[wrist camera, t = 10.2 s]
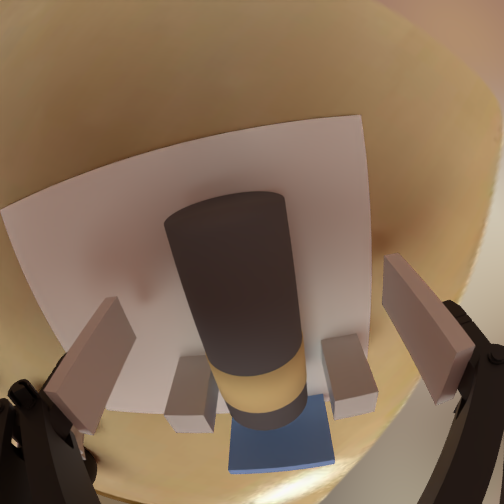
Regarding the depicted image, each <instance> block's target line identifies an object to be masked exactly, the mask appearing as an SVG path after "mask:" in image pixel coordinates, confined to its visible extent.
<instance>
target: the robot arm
mask: <svg viewBox="0 0 504 504" xmlns="http://www.w3.org/2000/svg"><path fill="white" fill-rule="evenodd" d="M382 305H383V307H384V308H385V310H386V312H387V314H388V315H389V317H390V319H391V320H392V322H393V324H394V326H395V328H396V329H397V331H398V333H399V335H400V337H401V338H402V340H403V342H404V344H405V346H406V348H407V349H408V351H409V353H410V355H411V357H412V359H413V361H414V363H415V365H416V367H417V368H418V370H419V372H420V374H421V376H422V378H423V380H424V382H425V384H426V386H427V388H428V390H429V393H430V395H431V397H432V399H433V401H434V403H435V405H439V404H441V403H444V402H446V401H449V400H451V399H453V397H454V395H455V393H456V391H457V389H458V390H459V392H460V394H461V396H462V397H461V399H460V401H459V403H458V405H457V407H456V408H455V410H454V413H455V417H454V420H453V423H452V426H451V428H450V431H449V434H448V437H447V440H446V442H445V445H444V447H443V450H442V453H441V455H440V457H439V459H438V462H437V464H436V466H435V469H434V471H433V473H432V475H431V477H430V480H429V482H428V484H427V486H426V488H425V490H424V492H423V493H422V496H421V497H420V499H419V501H418V503H417V504H482V501H483V499H484V496H485V494H486V491H487V488H488V485H489V482H490V479H491V476H492V473H493V470H494V467H495V463H496V460H497V456H498V452H499V448H500V444H501V440H502V435H503V431H504V346H502V345H499V344H491V343H490V342H489V341H488V339H487V338H486V337H485V336H484V334H483V333H482V332H481V330H480V329H479V328H478V327H477V326H476V324H475V323H474V322H472V319H471V318H470V317H469V316H468V315H467V314H466V312H465V311H464V310H463V309H462V308H461V306H460V305H458V304H456V303H455V302H453V301H451V300H447V301H444V302H441V301H440V299H439V298H438V297H437V296H436V295H435V293H434V292H433V291H432V290H431V289H430V287H429V286H428V285H427V284H426V283H425V282H424V281H423V279H422V278H421V277H420V276H419V275H418V274H417V273H416V271H415V270H414V269H413V268H412V267H411V266H410V265H409V264H408V263H407V262H406V260H405V259H404V258H403V257H402V256H401V255H400V254H399V253H394V254H389V255H384V274H383V296H382ZM136 338H137V337H136V335H135V333H134V331H133V329H132V327H131V325H130V323H129V321H128V319H127V317H126V315H125V312H124V310H123V308H122V306H121V304H120V301H119V299H118V297H117V296H115V297H107V298H105V299H104V300H103V302H102V303H101V305H100V306H99V307H98V309H97V310H96V311H95V313H94V314H93V316H92V317H91V318H90V320H89V321H88V323H87V324H86V326H85V327H84V328H83V330H82V331H81V333H80V334H79V336H78V337H77V339H76V340H75V342H74V343H73V345H72V346H71V348H70V349H69V351H68V352H67V353H65V354H64V355H63V356H62V357H61V358H60V360H59V361H58V363H57V365H56V367H55V368H54V369H53V371H52V373H51V374H50V376H49V377H48V379H47V380H46V382H45V384H44V385H43V387H42V389H41V390H40V392H39V394H38V392H37V391H36V390H35V389H34V387H33V386H32V385H31V383H30V382H29V381H28V380H26V379H22V380H19V381H17V382H16V383H14V384H13V385H12V386H11V388H10V389H9V391H8V395H7V396H8V397H9V398H10V399H11V400H12V402H13V403H14V404H15V405H16V406H13V405H12V404H11V403H10V402H9V400H8V399H6V398H2V399H0V504H101V503H100V501H99V498H98V496H97V494H96V492H95V489H94V487H93V485H92V482H91V480H90V477H89V475H88V472H87V469H86V467H85V464H84V461H83V459H82V456H81V453H80V450H79V447H78V444H77V441H76V438H75V435H74V433H73V432H72V431H71V428H72V426H73V425H74V426H75V427H76V428H77V430H78V431H79V432H80V433H85V434H90V435H94V433H95V431H96V428H97V426H98V423H99V421H100V418H101V416H102V414H103V411H104V409H105V407H106V404H107V402H108V399H109V397H110V395H111V393H112V390H113V388H114V386H115V383H116V381H117V379H118V377H119V375H120V372H121V370H122V368H123V366H124V364H125V361H126V359H127V357H128V355H129V353H130V351H131V349H132V346H133V344H134V342H135V340H136ZM12 438H13V439H14V440H15V441H16V442H17V443H18V447H15V446H14V445H13V444H12V443H11V440H12ZM500 504H504V464H503V479H502V488H501V497H500Z"/></svg>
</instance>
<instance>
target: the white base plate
mask: <svg viewBox="0 0 504 504" xmlns="http://www.w3.org/2000/svg"><path fill="white" fill-rule="evenodd" d="M252 191H266V192H274V193H278V194H281V195H282V196H283V197H284V198H285V204H286V211H287V218H288V225H289V232H290V239H291V246H292V254H293V261H294V269H295V277H296V285H297V294H298V302H299V311H300V320H301V329H302V332H303V339H304V350H305V360H306V372H307V380H306V382H307V394H308V398H307V403H306V406H305V408H304V410H303V412H302V413H301V414H300V415H299V416H298V417H297V418H296V419H295V420H294V421H292V422H291V423H289V424H288V425H286V426H283V427H281V428H278V429H274V430H266V431H261V430H253V429H249V428H246V427H244V426H242V425H241V424H239V423H238V422H236V421H235V420H234V418H233V417H232V425H231V439H230V452H229V465H228V471H229V472H230V473H231V474H252V473H268V472H280V471H290V470H298V469H306V468H313V467H319V466H325V465H331V464H334V463H335V457H334V451H333V446H332V440H331V434H330V429H329V423H328V418H327V412H326V407H325V402H326V401H330V402H331V407H332V412H333V417H334V420H338V419H343V418H348V417H353V416H357V415H361V414H366V413H370V412H374V411H375V406H376V402H377V397H378V392H379V391H378V389H377V386H376V383H375V380H374V378H373V375H372V372H371V370H370V367H369V364H368V362H367V354H368V343H369V329H370V312H371V284H372V240H371V212H370V194H369V181H368V169H367V159H366V149H365V141H364V133H363V125H362V118H361V115H350V116H337V117H327V118H317V119H308V120H300V121H293V122H285V123H279V124H272V125H266V126H260V127H254V128H248V129H243V130H238V131H233V132H228V133H223V134H218V135H213V136H209V137H204V138H200V139H196V140H192V141H188V142H184V143H180V144H176V145H172V146H168V147H164V148H161V149H157V150H154V151H150V152H147V153H143V154H140V155H137V156H133V157H130V158H127V159H124V160H121V161H118V162H115V163H112V164H109V165H106V166H103V167H100V168H97V169H94V170H92V171H89V172H86V173H83V174H81V175H78V176H75V177H73V178H70V179H68V180H65V181H63V182H60V183H58V184H55V185H53V186H50V187H48V188H46V189H43V190H41V191H39V192H37V193H34V194H32V195H30V196H28V197H26V198H23V199H21V200H19V201H17V202H15V203H13V204H11V205H9V206H7V207H5V208H3V209H1V210H0V212H1V215H2V218H3V221H4V224H5V227H6V230H7V233H8V236H9V238H10V241H11V244H12V246H13V249H14V252H15V254H16V257H17V259H18V261H19V264H20V266H21V268H22V271H23V273H24V275H25V278H26V280H27V282H28V284H29V286H30V288H31V290H32V292H33V294H34V297H35V299H36V301H37V302H38V304H39V306H40V308H41V310H42V312H43V314H44V316H45V318H46V319H47V321H48V323H49V325H50V327H51V328H52V330H53V332H54V334H55V335H56V337H57V339H58V340H59V342H60V344H61V345H62V347H63V348H64V350H65V352H66V353H67V352H68V351H69V349H70V348H71V346H72V345H73V343H74V342H75V340H76V339H77V337H78V336H79V334H80V333H81V331H82V330H83V328H84V327H85V326H86V324H87V323H88V321H89V320H90V318H91V317H92V316H93V314H94V313H95V311H96V310H97V309H98V307H99V306H100V305H101V303H102V302H103V300H104V299H105V298H107V297H115V296H117V297H118V299H119V301H120V304H121V306H122V308H123V310H124V312H125V315H126V317H127V319H128V321H129V323H130V325H131V327H132V329H133V331H134V333H135V335H136V337H137V338H136V340H135V342H134V344H133V346H132V349H131V351H130V353H129V355H128V357H127V359H126V361H125V364H124V366H123V368H122V370H121V372H120V375H119V377H118V379H117V381H116V383H115V386H114V388H113V390H112V393H111V395H110V397H109V399H108V402H107V404H106V407H105V408H106V409H107V410H112V411H122V412H135V413H153V414H164V417H165V418H166V419H167V421H168V422H169V424H170V425H171V426H172V428H173V429H174V430H175V432H176V433H214V425H215V417H216V414H219V413H230V412H229V410H228V407H227V405H226V403H225V400H224V398H223V397H222V395H221V393H220V390H219V388H218V386H217V383H216V381H215V378H214V376H213V373H212V371H211V368H210V365H209V363H208V360H207V358H206V354H205V350H204V347H203V344H202V342H201V339H200V336H199V333H198V331H197V328H196V325H195V322H194V319H193V316H192V313H191V311H190V308H189V305H188V302H187V299H186V296H185V293H184V290H183V287H182V284H181V281H180V277H179V274H178V271H177V268H176V265H175V261H174V258H173V255H172V252H171V248H170V245H169V241H168V238H167V235H166V231H165V228H164V222H165V220H166V219H167V218H168V217H169V216H170V215H172V214H173V213H175V212H177V211H178V210H180V209H182V208H185V207H187V206H189V205H192V204H194V203H197V202H200V201H203V200H207V199H210V198H214V197H218V196H223V195H228V194H234V193H241V192H252Z"/></svg>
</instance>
